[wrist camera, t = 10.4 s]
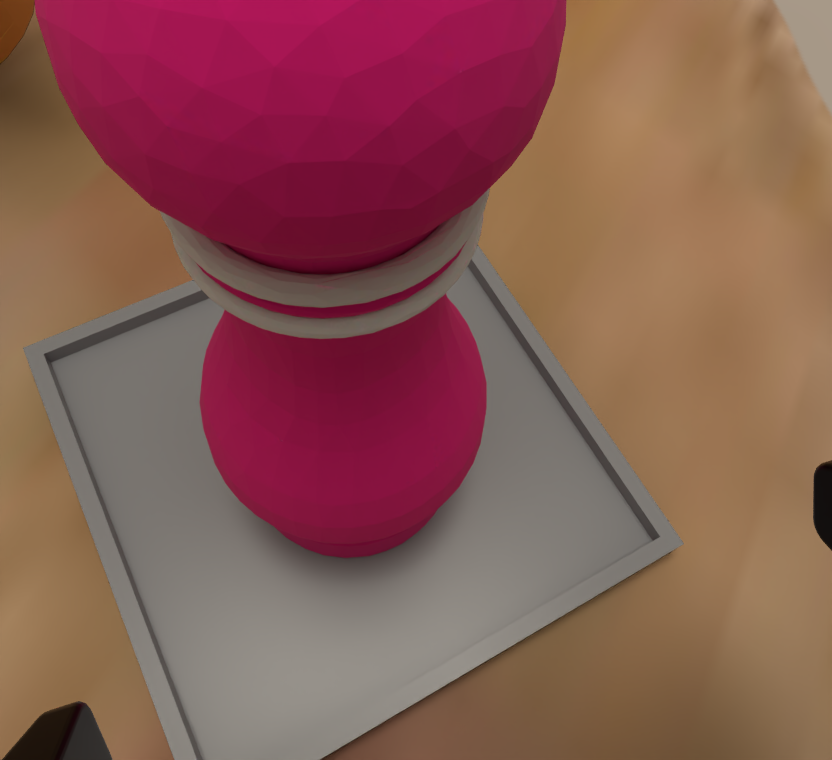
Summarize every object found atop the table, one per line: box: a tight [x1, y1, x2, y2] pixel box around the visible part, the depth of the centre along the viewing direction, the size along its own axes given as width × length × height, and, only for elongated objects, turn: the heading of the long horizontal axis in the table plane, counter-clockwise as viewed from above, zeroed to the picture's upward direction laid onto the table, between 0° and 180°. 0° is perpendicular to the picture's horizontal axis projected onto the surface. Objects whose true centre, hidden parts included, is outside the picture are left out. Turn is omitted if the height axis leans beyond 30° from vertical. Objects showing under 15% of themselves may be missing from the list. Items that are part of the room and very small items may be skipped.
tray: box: [23, 244, 684, 760], centre depth 23 cm, size 15×15×1 cm
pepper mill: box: [35, 0, 566, 558], centre depth 14 cm, size 7×7×20 cm
